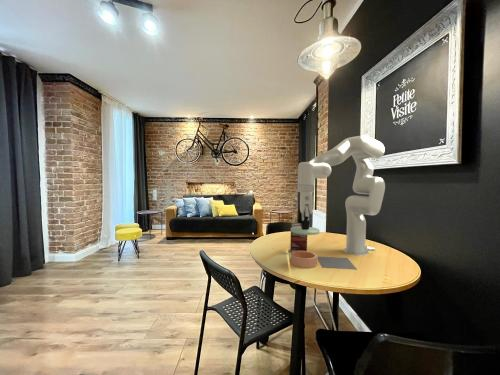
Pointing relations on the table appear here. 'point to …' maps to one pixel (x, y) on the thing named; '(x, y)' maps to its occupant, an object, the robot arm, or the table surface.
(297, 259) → the bowl
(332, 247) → the table surface
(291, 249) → the supplement box
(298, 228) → the lid
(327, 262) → the mat
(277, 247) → the table surface
